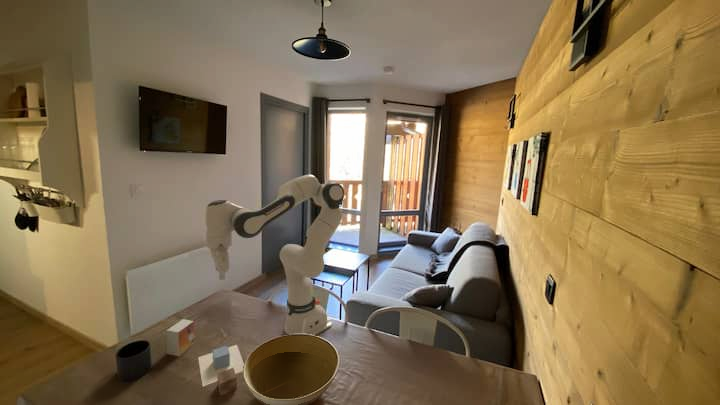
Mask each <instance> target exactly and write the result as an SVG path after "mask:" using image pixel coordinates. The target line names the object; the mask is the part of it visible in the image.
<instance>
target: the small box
mask: <svg viewBox="0 0 720 405" xmlns="http://www.w3.org/2000/svg"><path fill="white" fill-rule="evenodd" d="M165 332H166V333H165V334H166V348H167V350H166V351H167V352H166V353H167V355H170V356H171V355H172V356H175V357H180V356H182V355H183V354H184V353H185V352H186V351H187V350H188V349H190V348H191V347H193V346H194V345H195V344H196V341H195V339H196V338H195V320H194V321H193V320H189V319H184V318H182V319H181V320H179V321H178V322H176V323H175V324H173V325H172V326H170V327H169V328H168V329H166V330H165Z"/></svg>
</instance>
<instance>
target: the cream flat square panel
mask: <svg viewBox="0 0 720 405" xmlns="http://www.w3.org/2000/svg"><path fill="white" fill-rule="evenodd" d="M227 347H228V346H227ZM228 350H229V353H230V365H229V366H226V367H223V368H221V369H218V370H215V368H214V364H213V352H210V353H207V354H204V355H201V356H198V365H199V366H198V367H199V372H200V377H201V386H202V388H203V387H206V386H209V385H211V384H214V383H216V382H218V373H220V372H223V371H226V370H228V369H231V368H234V371H235V374H236V375H237V374H240V373H243V372H244V371H243V366H245V363H244V361H243V358H242V355H241V352H240V349H239V347H238V344H234V345H232V346H229V347H228Z"/></svg>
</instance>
